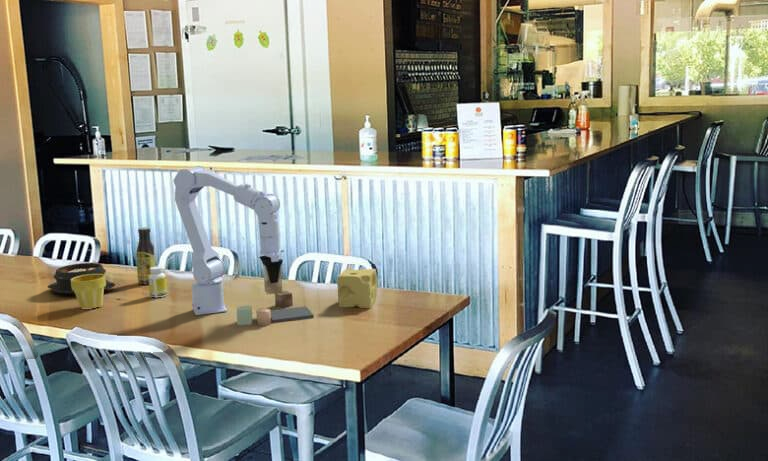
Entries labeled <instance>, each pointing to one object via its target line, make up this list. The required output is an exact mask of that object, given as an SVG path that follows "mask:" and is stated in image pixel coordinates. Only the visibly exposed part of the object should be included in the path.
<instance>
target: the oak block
mask: <svg viewBox="0 0 768 461" xmlns="http://www.w3.org/2000/svg"><path fill="white" fill-rule="evenodd" d="M262 265H263V264H262ZM282 279H283V278H282V266H281V267H280V271H279V279H278V283H270V280H269V276H268V271H267V268H266V266H265V265H263V281H264V282H263V283H264V292H265V293H266V294H267V295H275V294H277V293H282V291H283V280H282Z"/></svg>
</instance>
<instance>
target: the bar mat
mask: <svg viewBox="0 0 768 461" xmlns="http://www.w3.org/2000/svg"><path fill="white" fill-rule="evenodd" d="M270 312H271V323H272V324H273V323H280V322H287V321H288V322H289V321H290V322H291V321H297V320H303V319H311V318H312V319H313V318H314V314H313V313H312V311H311V310H310V309H309V308H308V306H305V305H304V306H299V307H298V306H297V307H290V308H288V307H287V308H280V309H272V310H271V309H270Z"/></svg>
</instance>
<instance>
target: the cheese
mask: <svg viewBox="0 0 768 461" xmlns="http://www.w3.org/2000/svg"><path fill="white" fill-rule="evenodd" d="M336 280H337V281H336V282H337V301H338V307H339V308H357V307H358V308H359V309H371V308H372V306H373V305H374V303H375V302H376V301H377V298H378V297H377V295H378V277H377V270H376V268H368V269H365V268H364V269H344V270H343V271H342V272H341V273H340V274H339V275H337V279H336Z"/></svg>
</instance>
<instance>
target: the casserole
mask: <svg viewBox="0 0 768 461" xmlns="http://www.w3.org/2000/svg"><path fill="white" fill-rule="evenodd" d="M106 272H107V269H105V268H104V266H103V264H101V263H96V262H82V263H74V264H73V263H72V264H68V265H64V266H61V267H59V268H57V269H56V270H55V273H54V275H53V277H52V278H54V280H55V281H56V282H54V283H50V284H48V285H47V289H51V290H52V291H53V292H55V293H60V294H64V293H65V294H64V295H68V294H75V292H74V291H73V290H72V287H71V279H72V278H74V277H77V276H81V275H87V274H103V275H105V273H106ZM115 286H116V283H114V282H111V281H109V280H107V279H106V286H105V287H104V291H106V290H109V289H112V288H113V287H115Z"/></svg>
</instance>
